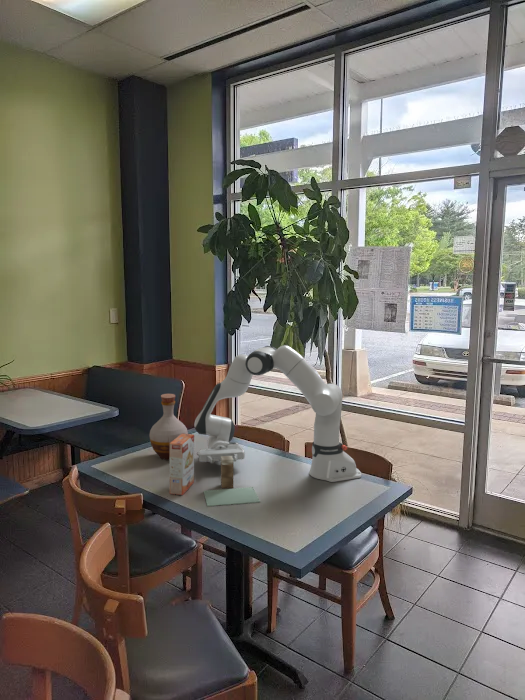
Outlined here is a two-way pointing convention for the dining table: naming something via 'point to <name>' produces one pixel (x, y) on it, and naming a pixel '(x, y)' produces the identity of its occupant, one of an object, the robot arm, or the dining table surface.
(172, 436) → the jug
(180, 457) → the cracker box
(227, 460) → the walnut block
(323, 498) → the dining table surface
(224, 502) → the rubber mat
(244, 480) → the dining table surface
